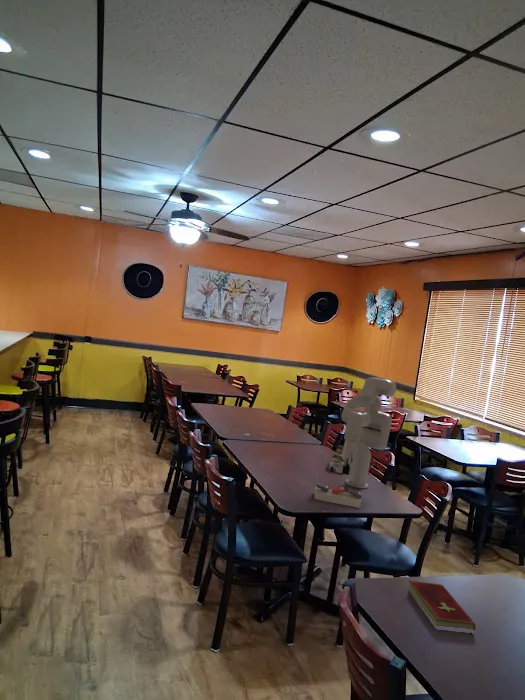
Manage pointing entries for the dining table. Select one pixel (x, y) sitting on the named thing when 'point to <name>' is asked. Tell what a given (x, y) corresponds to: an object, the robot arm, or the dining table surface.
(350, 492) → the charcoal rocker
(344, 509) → the dining table surface
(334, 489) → the red rocker
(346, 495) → the rocker switch panel
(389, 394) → the robot arm
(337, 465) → the juice carton
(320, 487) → the charcoal rocker
